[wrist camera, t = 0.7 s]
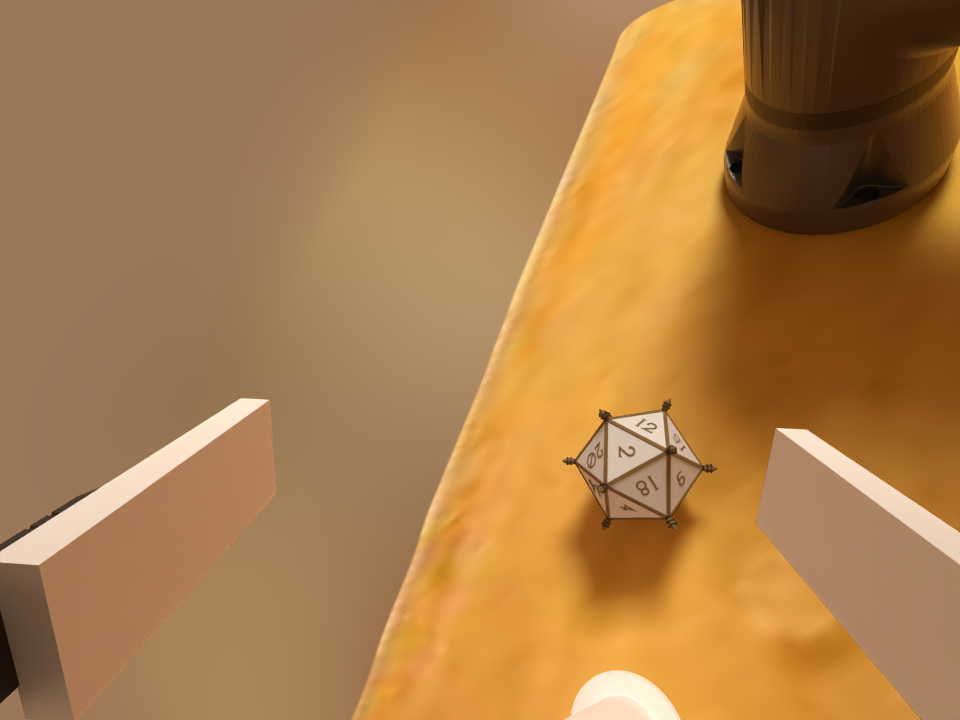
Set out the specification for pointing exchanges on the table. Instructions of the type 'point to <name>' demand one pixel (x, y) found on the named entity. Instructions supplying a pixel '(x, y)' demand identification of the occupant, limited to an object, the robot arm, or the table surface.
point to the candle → (621, 699)
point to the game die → (639, 466)
